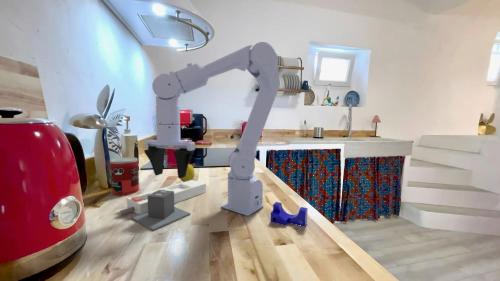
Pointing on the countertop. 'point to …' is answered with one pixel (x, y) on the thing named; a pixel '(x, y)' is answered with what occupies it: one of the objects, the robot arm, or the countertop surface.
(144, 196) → the strip
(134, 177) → the canned food
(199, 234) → the countertop surface
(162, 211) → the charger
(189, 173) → the lemon
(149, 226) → the mat
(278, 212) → the cable holder
